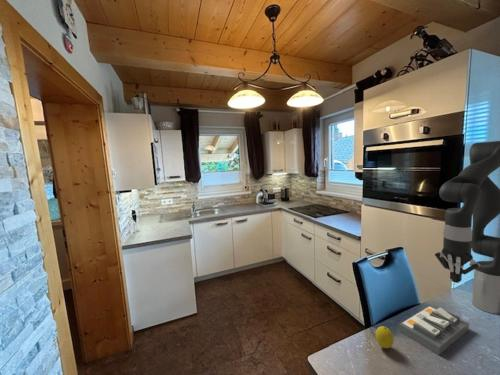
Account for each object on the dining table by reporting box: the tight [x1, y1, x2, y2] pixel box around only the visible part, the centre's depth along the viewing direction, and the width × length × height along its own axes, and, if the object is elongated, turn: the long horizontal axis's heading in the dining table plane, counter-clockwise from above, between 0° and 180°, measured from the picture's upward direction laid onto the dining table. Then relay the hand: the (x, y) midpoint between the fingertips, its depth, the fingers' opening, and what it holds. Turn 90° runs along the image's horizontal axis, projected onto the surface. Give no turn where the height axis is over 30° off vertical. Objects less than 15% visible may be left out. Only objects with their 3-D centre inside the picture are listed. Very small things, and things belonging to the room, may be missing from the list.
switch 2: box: [435, 307, 457, 323], centre depth 88 cm, size 4×6×1 cm, turn 27°
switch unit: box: [398, 304, 470, 356], centre depth 86 cm, size 24×13×5 cm, turn 117°
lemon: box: [375, 325, 394, 349], centre depth 79 cm, size 6×6×8 cm
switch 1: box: [417, 320, 440, 336], centre depth 82 cm, size 4×6×1 cm, turn 27°
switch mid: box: [427, 316, 449, 327], centre depth 85 cm, size 4×6×1 cm, turn 27°
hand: (455, 281), depth 82 cm, fingers closed
